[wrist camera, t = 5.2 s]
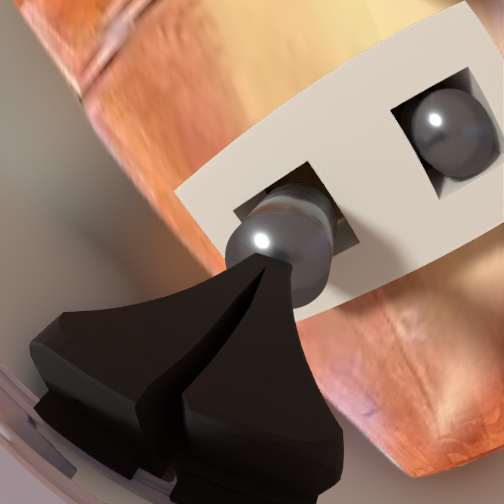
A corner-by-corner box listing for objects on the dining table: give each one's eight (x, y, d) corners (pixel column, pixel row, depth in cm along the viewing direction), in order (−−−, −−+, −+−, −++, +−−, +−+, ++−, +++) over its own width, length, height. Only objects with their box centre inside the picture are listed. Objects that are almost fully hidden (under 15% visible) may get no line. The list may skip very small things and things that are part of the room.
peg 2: (473, 141, 13) (505, 154, 10) (421, 170, 15) (441, 191, 12) (440, 80, 13) (466, 74, 9) (387, 111, 15) (398, 112, 11)
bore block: (515, 167, 13) (554, 189, 9) (295, 284, 22) (279, 328, 18) (438, 23, 11) (464, 0, 7) (212, 170, 20) (173, 191, 16)
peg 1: (352, 236, 14) (349, 286, 11) (287, 269, 17) (264, 322, 13) (307, 167, 14) (288, 194, 10) (243, 209, 16) (205, 247, 12)
